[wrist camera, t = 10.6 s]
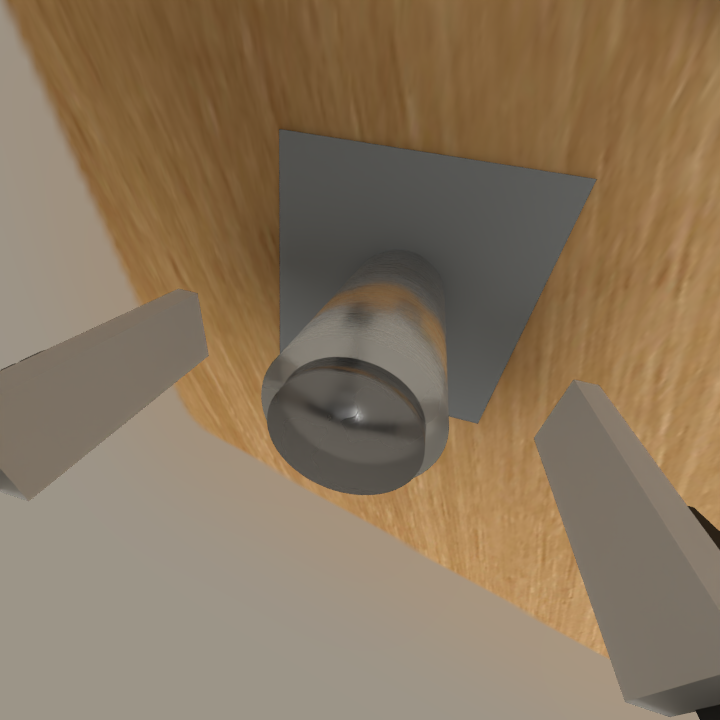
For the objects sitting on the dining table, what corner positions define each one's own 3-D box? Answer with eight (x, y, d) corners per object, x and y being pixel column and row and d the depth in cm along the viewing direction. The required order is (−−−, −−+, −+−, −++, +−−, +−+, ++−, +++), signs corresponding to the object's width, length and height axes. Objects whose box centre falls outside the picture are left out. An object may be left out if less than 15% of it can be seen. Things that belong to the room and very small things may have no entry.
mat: (281, 129, 15) (279, 128, 15) (594, 179, 13) (596, 179, 13) (281, 370, 23) (280, 372, 23) (477, 421, 22) (477, 423, 21)
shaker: (356, 241, 17) (239, 327, 7) (457, 259, 16) (482, 384, 6) (346, 329, 20) (253, 477, 10) (430, 348, 19) (419, 527, 9)
